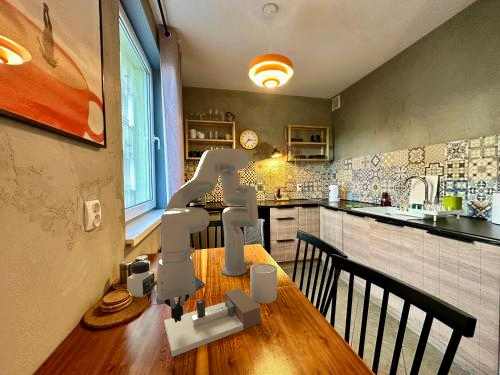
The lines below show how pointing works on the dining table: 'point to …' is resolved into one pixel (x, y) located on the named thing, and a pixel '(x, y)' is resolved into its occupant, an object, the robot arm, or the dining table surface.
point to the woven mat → (199, 283)
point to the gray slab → (213, 323)
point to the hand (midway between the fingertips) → (177, 319)
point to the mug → (263, 283)
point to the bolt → (208, 313)
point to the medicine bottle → (140, 280)
